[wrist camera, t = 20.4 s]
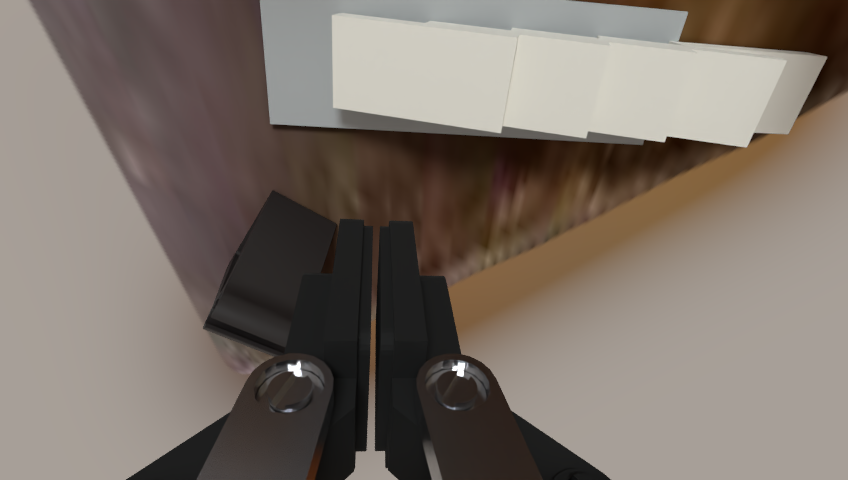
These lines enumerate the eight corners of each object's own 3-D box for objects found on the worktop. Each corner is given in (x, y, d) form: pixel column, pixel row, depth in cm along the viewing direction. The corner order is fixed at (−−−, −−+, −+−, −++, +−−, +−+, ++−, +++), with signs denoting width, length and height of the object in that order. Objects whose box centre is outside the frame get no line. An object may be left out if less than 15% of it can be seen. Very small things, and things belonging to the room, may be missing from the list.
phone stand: (273, 188, 38) (237, 273, 28) (337, 222, 41) (324, 313, 30) (227, 264, 42) (180, 364, 32) (288, 292, 44) (262, 394, 34)
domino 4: (597, 35, 34) (775, 56, 32) (576, 117, 37) (737, 139, 35) (600, 38, 32) (787, 60, 31) (578, 123, 35) (746, 147, 34)
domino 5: (669, 41, 34) (807, 52, 36) (642, 120, 38) (771, 127, 39) (683, 45, 33) (827, 56, 35) (654, 127, 36) (788, 134, 38)
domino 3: (512, 27, 33) (689, 48, 31) (497, 111, 36) (659, 134, 35) (511, 30, 32) (697, 52, 30) (496, 117, 35) (664, 142, 33)
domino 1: (333, 107, 33) (500, 133, 31) (331, 14, 30) (517, 37, 28) (342, 101, 35) (502, 125, 33) (341, 12, 32) (518, 34, 30)
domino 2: (430, 20, 32) (608, 42, 31) (422, 107, 35) (583, 130, 34) (424, 23, 31) (611, 45, 29) (417, 113, 34) (586, 138, 32)
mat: (684, 11, 34) (688, 12, 34) (639, 142, 39) (642, 144, 39) (259, -29, 30) (257, -29, 30) (271, 121, 35) (270, 124, 35)
